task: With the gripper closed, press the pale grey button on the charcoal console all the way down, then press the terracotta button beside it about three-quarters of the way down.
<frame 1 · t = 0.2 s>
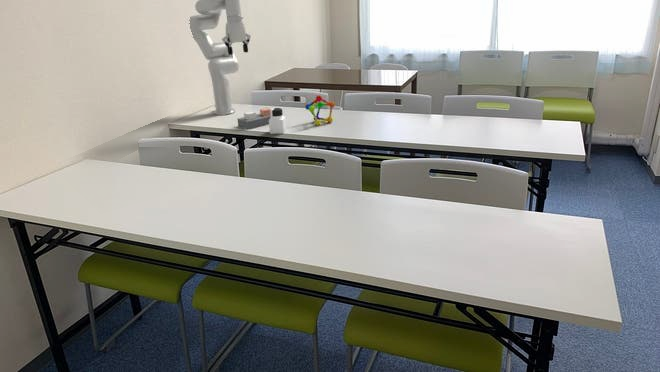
hand: (238, 53, 259), 36 cm above the table, tool pointing down, fingers open, 9 cm apart
grey button: (250, 116, 259), point 5 cm above the table, slide at 0.0 cm
terracotta button: (265, 112, 265), point 5 cm above the table, slide at 0.0 cm
medicine bottle: (278, 132, 247), on the table
console: (259, 123, 264), on the table
educational toy: (318, 122, 261), on the table
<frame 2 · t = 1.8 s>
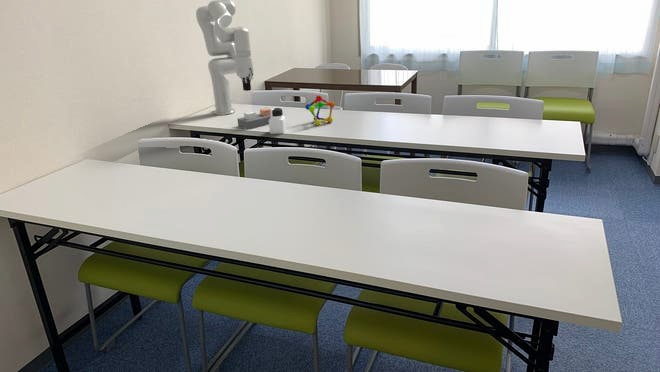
hand: (247, 90, 253), 19 cm above the table, tool pointing down, fingers closed
nothing on the table moved.
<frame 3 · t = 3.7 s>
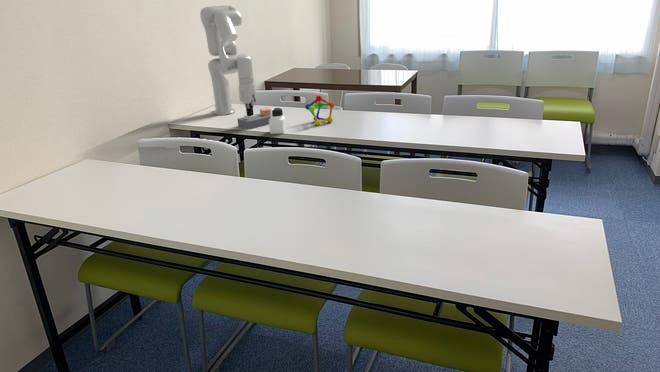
hand: (250, 115, 258), 6 cm above the table, tool pointing down, fingers closed
grey button: (250, 119, 259), point 4 cm above the table, slide at 1.4 cm, touching gripper
everything else where it was.
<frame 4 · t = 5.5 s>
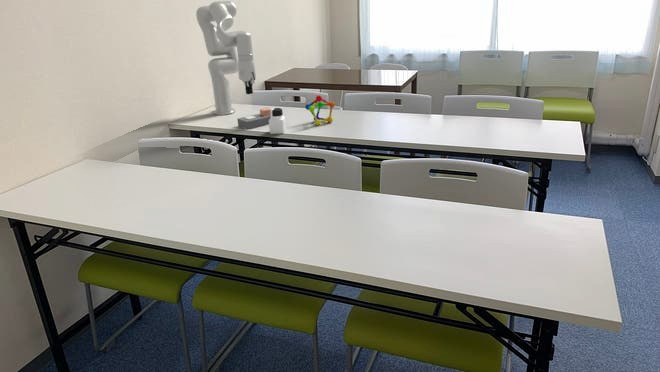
hand: (249, 93, 255), 17 cm above the table, tool pointing down, fingers closed
grey button: (250, 121, 260), point 3 cm above the table, slide at 2.5 cm
everything else where it was.
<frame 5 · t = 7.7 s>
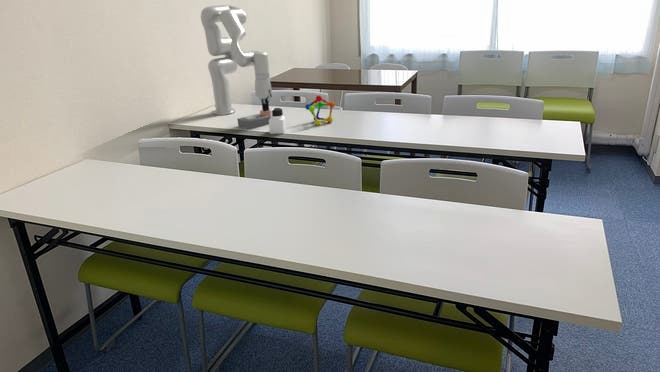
hand: (265, 110, 264), 6 cm above the table, tool pointing down, fingers closed
terracotta button: (266, 114, 265), point 4 cm above the table, slide at 0.6 cm, touching gripper
everything else where it was.
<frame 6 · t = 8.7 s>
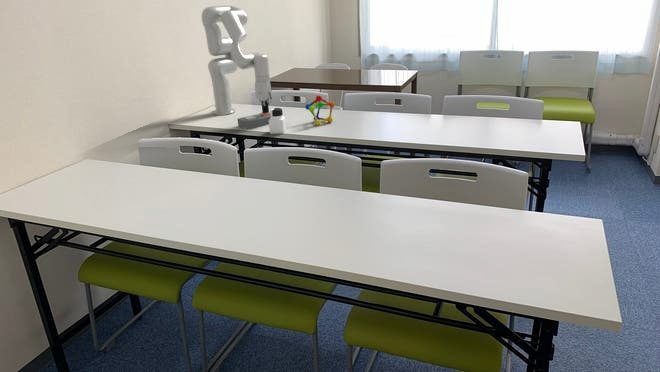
hand: (265, 112, 264), 5 cm above the table, tool pointing down, fingers closed
terracotta button: (266, 116, 265), point 3 cm above the table, slide at 1.9 cm
everything else where it was.
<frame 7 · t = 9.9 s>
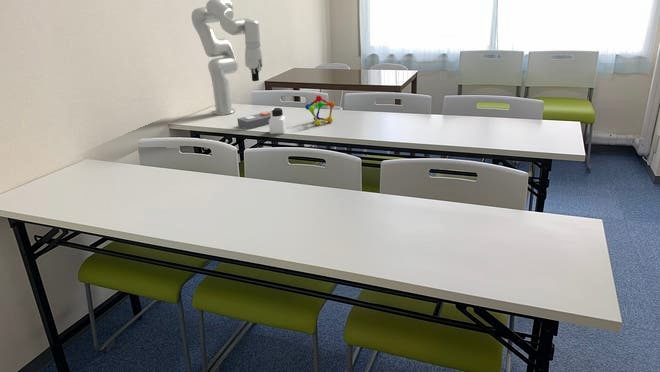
hand: (255, 80, 260), 22 cm above the table, tool pointing down, fingers closed
nothing on the table moved.
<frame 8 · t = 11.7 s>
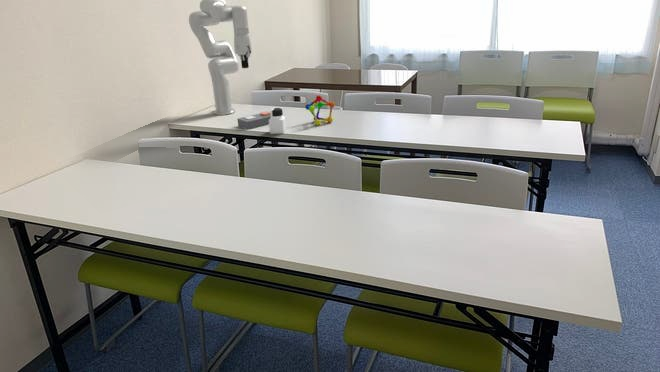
hand: (245, 67, 258), 29 cm above the table, tool pointing down, fingers closed
nothing on the table moved.
at the end: grey button slide at 2.5 cm; terracotta button slide at 1.9 cm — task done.
